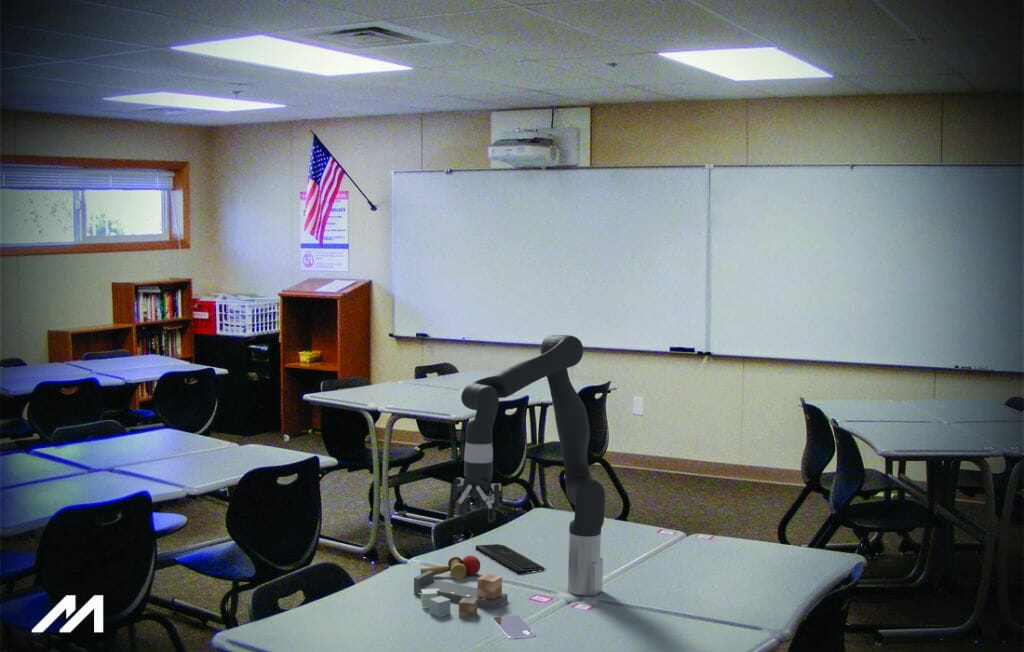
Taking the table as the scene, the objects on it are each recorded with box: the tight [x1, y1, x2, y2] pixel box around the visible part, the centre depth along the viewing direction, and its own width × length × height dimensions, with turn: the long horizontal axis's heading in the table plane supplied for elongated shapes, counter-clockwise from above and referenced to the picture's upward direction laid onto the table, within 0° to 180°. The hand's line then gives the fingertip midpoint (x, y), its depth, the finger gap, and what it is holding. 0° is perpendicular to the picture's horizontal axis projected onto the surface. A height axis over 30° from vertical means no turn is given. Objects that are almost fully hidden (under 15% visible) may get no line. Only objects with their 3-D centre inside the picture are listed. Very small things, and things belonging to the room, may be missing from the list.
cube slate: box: [428, 596, 451, 618], centre depth 267 cm, size 4×4×4 cm
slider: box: [476, 573, 503, 599], centre depth 275 cm, size 5×5×5 cm
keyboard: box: [475, 543, 546, 575], centre depth 317 cm, size 30×11×2 cm, turn 28°
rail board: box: [413, 570, 508, 610], centre depth 280 cm, size 26×8×4 cm, turn 62°
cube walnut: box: [458, 598, 478, 619], centre depth 266 cm, size 4×4×4 cm
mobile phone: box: [492, 614, 537, 640], centre depth 257 cm, size 8×1×15 cm
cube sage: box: [420, 589, 437, 607], centre depth 273 cm, size 4×4×4 cm
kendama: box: [420, 555, 481, 580], centre depth 299 cm, size 8×6×18 cm
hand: (477, 519), depth 264 cm, fingers open, 8 cm apart
